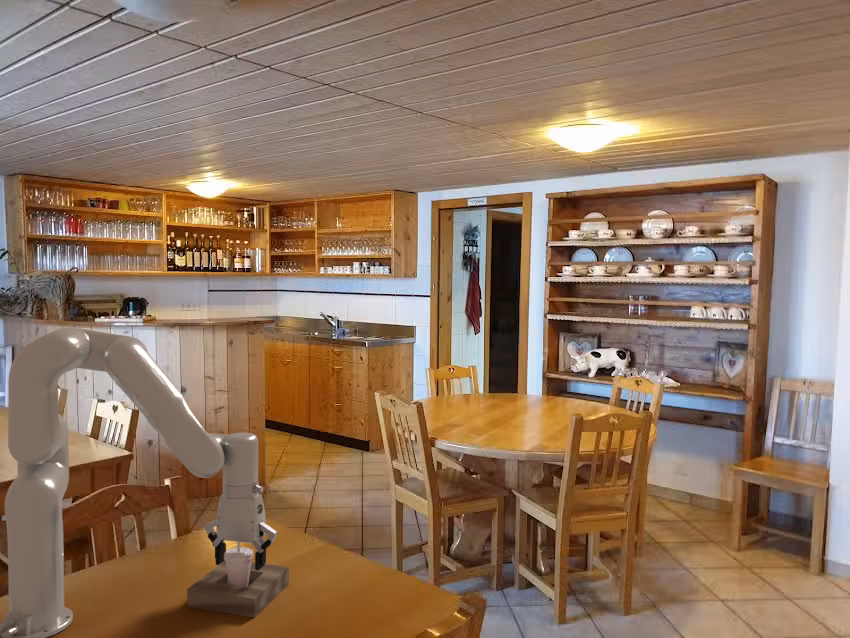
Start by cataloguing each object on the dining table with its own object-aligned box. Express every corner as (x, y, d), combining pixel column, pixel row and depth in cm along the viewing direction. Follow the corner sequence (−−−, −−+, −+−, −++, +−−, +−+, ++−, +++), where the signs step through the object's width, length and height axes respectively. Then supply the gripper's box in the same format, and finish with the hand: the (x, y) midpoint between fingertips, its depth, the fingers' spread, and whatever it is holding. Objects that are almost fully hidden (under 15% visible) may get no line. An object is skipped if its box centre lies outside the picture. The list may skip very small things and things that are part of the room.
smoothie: (222, 603, 141) (223, 540, 141) (224, 589, 148) (224, 529, 147) (253, 600, 143) (253, 537, 142) (253, 586, 149) (253, 527, 149)
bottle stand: (254, 617, 136) (255, 598, 135) (187, 607, 139) (187, 588, 139) (288, 583, 151) (289, 567, 151) (227, 575, 155) (227, 558, 155)
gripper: (284, 488, 146) (283, 563, 147) (215, 481, 150) (214, 554, 151) (268, 498, 138) (267, 577, 139) (196, 491, 143) (196, 567, 143)
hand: (240, 565), depth 145 cm, fingers open, 9 cm apart
